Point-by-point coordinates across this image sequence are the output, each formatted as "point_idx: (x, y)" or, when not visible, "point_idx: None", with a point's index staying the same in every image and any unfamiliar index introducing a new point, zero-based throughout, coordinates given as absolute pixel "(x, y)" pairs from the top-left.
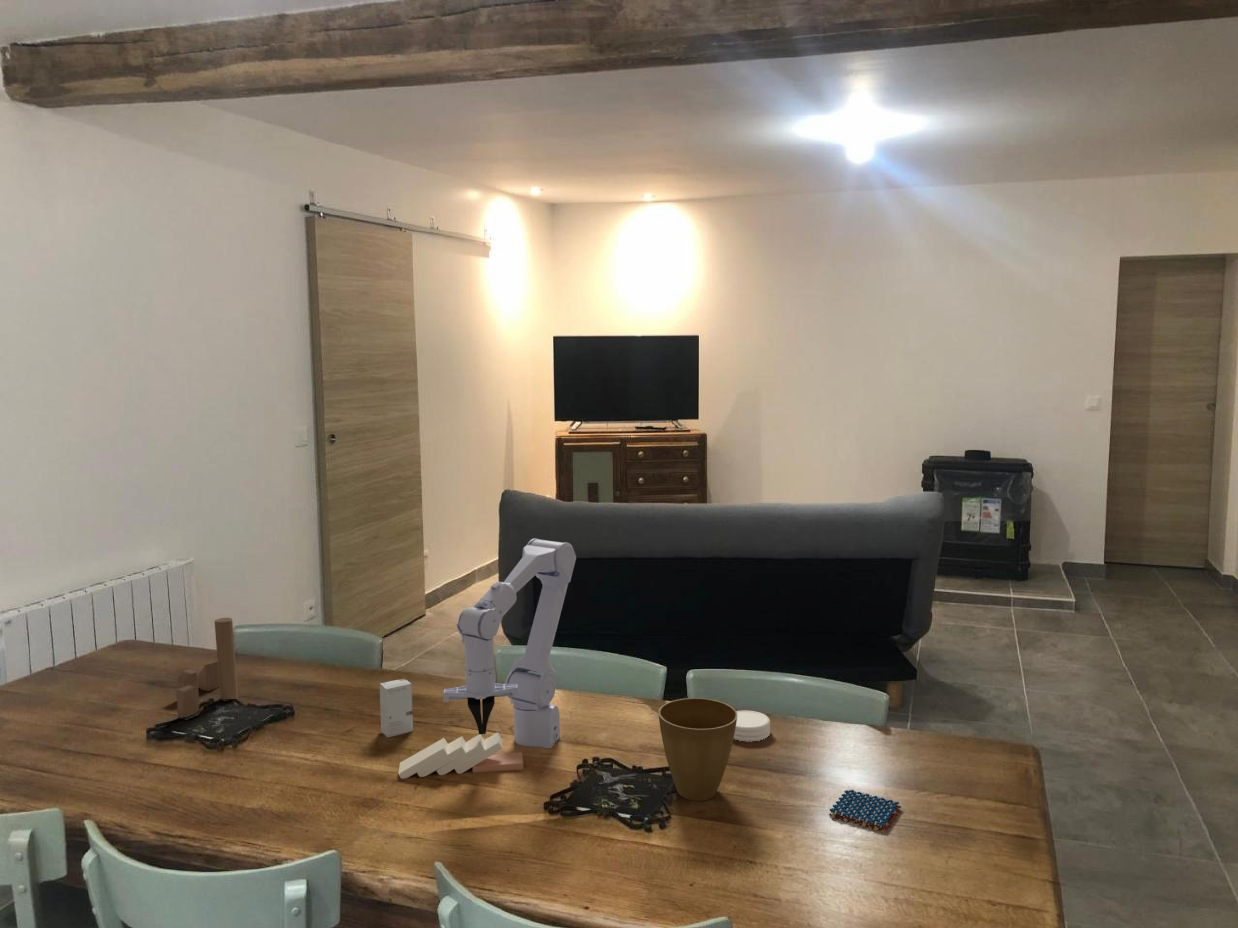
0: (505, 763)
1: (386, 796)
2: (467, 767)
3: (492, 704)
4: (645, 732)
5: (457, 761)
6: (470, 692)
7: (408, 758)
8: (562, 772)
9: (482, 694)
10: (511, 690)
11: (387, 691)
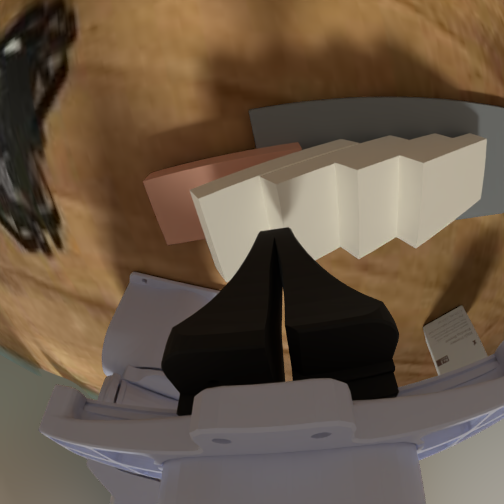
0: (195, 173)
1: (484, 81)
2: (318, 146)
3: (170, 341)
4: (36, 322)
5: (356, 150)
6: (398, 446)
7: (472, 202)
8: (73, 187)
9: (245, 446)
10: (63, 425)
11: None
